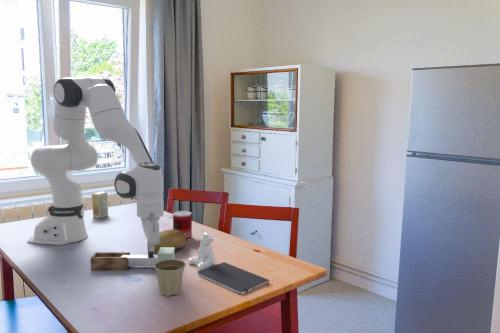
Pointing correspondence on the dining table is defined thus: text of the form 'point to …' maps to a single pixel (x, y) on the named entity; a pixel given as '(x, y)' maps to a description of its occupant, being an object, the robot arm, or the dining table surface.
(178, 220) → the canned food
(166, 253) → the pale green block
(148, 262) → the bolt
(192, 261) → the sitting furry creature
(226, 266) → the notebook
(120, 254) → the open wooden box
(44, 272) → the dining table surface
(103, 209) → the skincare box
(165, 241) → the bread roll
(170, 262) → the flower pot
